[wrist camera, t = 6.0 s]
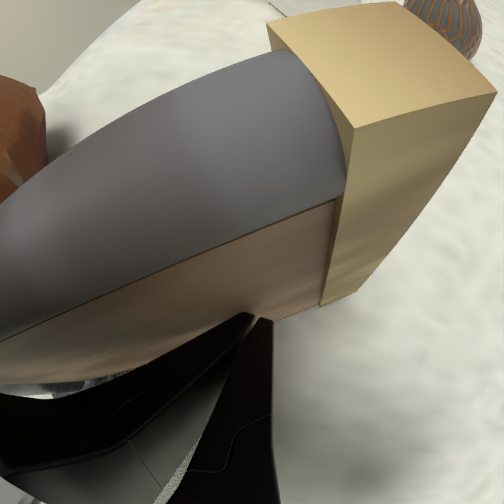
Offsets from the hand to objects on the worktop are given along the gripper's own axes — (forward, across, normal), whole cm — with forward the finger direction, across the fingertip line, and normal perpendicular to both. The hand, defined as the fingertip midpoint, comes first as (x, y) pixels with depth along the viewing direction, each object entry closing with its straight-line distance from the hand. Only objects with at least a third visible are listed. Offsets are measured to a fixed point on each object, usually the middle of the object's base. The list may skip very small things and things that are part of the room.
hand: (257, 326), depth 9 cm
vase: (+22, -7, -13) cm, 27 cm away
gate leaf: (+3, +4, +4) cm, 6 cm away
